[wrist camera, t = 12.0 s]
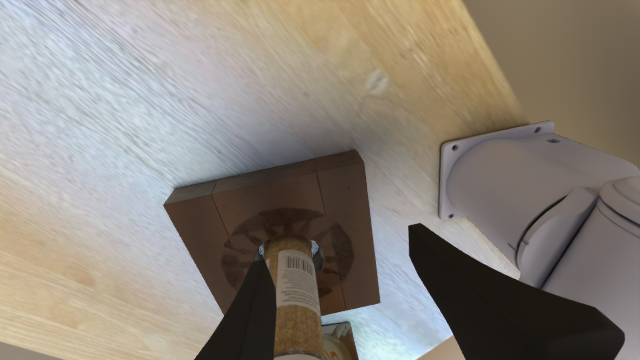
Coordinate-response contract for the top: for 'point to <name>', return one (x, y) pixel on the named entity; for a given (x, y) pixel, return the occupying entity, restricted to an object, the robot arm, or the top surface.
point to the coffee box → (339, 342)
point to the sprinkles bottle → (295, 298)
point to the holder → (283, 226)
